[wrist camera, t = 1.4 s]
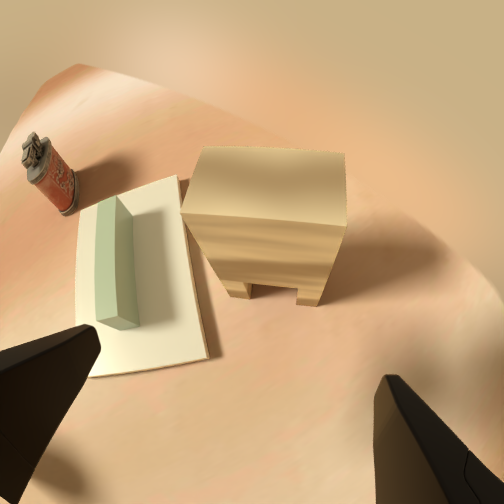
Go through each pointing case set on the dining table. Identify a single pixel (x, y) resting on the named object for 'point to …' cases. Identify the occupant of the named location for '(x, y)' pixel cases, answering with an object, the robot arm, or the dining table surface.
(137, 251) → the white and green block
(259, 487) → the dining table surface
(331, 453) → the dining table surface
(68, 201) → the lighter
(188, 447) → the dining table surface
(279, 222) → the birch slotted block
